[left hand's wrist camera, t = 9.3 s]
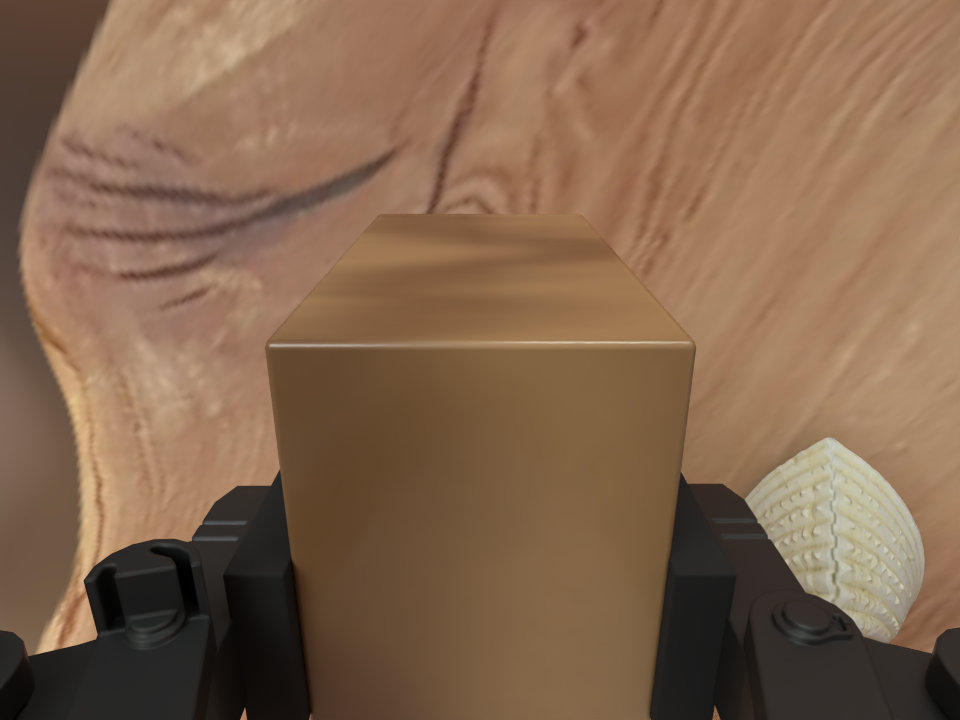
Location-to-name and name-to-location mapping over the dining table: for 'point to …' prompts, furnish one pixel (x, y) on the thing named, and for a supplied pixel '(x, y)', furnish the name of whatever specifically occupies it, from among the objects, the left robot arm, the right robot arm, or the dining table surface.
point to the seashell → (844, 535)
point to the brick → (480, 471)
